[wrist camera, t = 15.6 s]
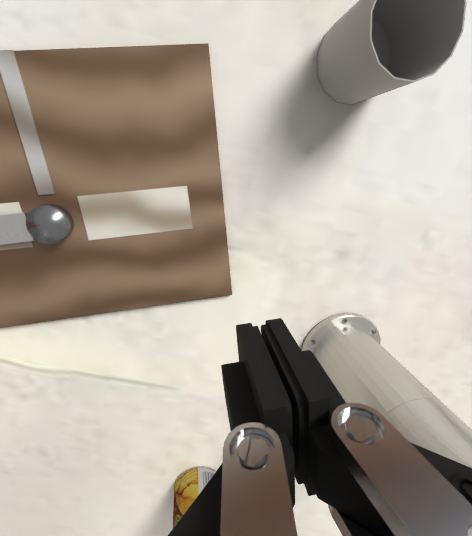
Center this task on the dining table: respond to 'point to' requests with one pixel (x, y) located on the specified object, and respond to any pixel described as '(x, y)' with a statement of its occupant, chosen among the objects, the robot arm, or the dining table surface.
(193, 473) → the canned food
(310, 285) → the dining table surface
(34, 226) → the arm
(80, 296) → the board
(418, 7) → the cup
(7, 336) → the dining table surface
